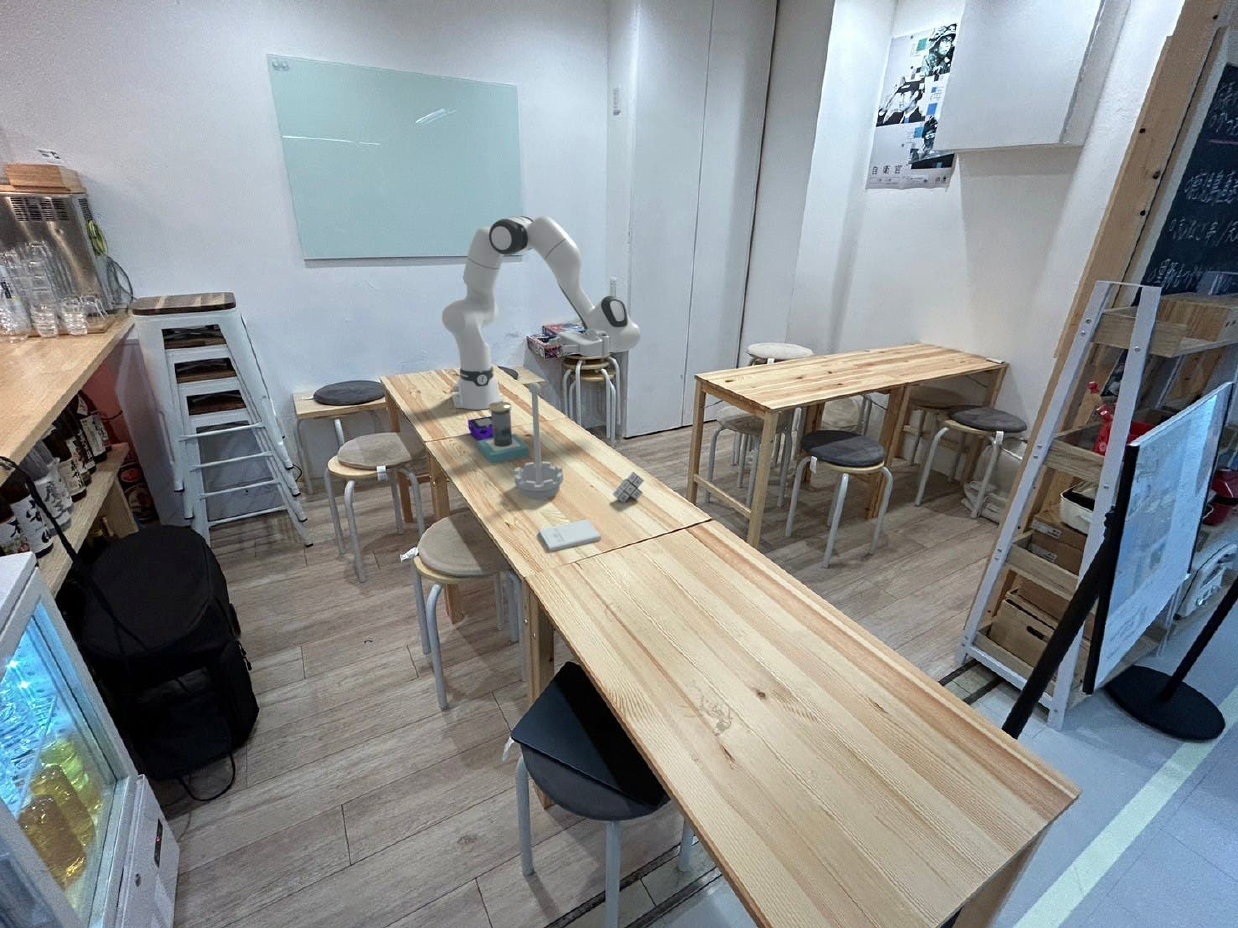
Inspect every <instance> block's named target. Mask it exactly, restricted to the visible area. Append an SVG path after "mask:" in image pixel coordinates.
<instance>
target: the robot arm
mask: <svg viewBox="0 0 1238 928" xmlns="http://www.w3.org/2000/svg"><path fill="white" fill-rule="evenodd" d="M469 246H470V247H469V250H468V253H467V257H466V262H465V267H464V271H463V276H462V280H463V282H464V283H465V285H466V296H465V298H464V299H461V300H456V301H453V302H452V303H450V304H449V305H447V306H446V307H445V308H444V309H443V311H442V313H441V320H442V324H443V325H444V328H445V329H446V330H447V331H448V332H450V333H451V334H452V336H453V338H454V340H455V342H456V344H457V348H458V353H459V354H458V356H459V362H460V368H459V377H460V378H459V379H458V381H457V382H456V385H453V386H452V389H453V393H452V394H451V398H452V402H453V406H454V408H456V409H466V410H474V411H475V410H487V409H489V405H490V404H492V403H495V402H504V397H503V396H501V394H500V390H499V383H498V379H496V378H495V377H494V368H493V365H492V355H491V347H490V344H488V343H487V342H486V341H485V339H484V337H483V334H482V332H481V331H482V330H481V329H482V328H486V327H488V326H490V325H491V324H493V322H494V321H496V320H497V318H498V317H499V313H500V312H499V306H498V304H497V302H496V297H495V296H496V286H497V282H498V278H499V275H500V274H499V273H500V270H501V265H502V261H503V258H504V255H505V256H512V255H520V254H523V253H525V252H528V251H530V250H532V249H533V250H534V251H536V252H537V253H538V254H539V256H540V258H542V260H543V261H544V262H545V263H546V264H547V267H549V269H550V270H551V272H552V274H553V275H554V277H555V279H556V282H557V284H558V287H559V289H560V291H561V292H562V293H563V295H564V296H565V298H566V299H567V301H568V302H569V304H570V305H571V307H572V308H573V310H574V311H575V313H576V314H577V315H578V317H579V319H580V321H581V325H582V326H583V329H584V331H585V332H583V333H582V332H579V331H577V330H576V331H574V330H573V331H560V332H557V333H556V337H554V338H550V339H549V340H548V345H550V346H552V347H553V346H557V345H560V346H561V351H562V352H563V353H577V354H579V355H581V356H583V357H592V358H593V357H602V358H607V357H609V355H610V353H621V352H627V351H630V350H633V349H635V348H636V347H637V346H638V345H639V343H640V341H641V340H640V339H641V330H640V327H639V325H638V324H636V323H635V322H634V321H633V320H632V319H631V317H630V316H629V314H628V312H627V308H626V305H625V303H624V301H622V300H621V298H619V297H616V296H615V295H607V296H605V297H603V298H602V300H601V301H599V302H598V303H597V304H596V306H594V304H593V303H592V302H591V300H590V298H589V297H588V296H587V294H586V292H585V291H584V289H583V288H582V285H581V282H580V280H581V279H580V275H581V274H580V273H581V269H582V259H583V258H582V253H581V251H580V249H579V247H578V246H577V244H576V242H575V241H574V240H573V239H572V237H570V235H569V233H567V231H565V229H563V227H561V225H559V224H558V223H557V222H556V221H555V220H554V219H553V218H552V217H550V216H548V215H541V216H538V217H536V218H535V219H534V220H533V219H532V218H530V217H528V216H523V215H522V216H517V215H516V216H515V215H514V216H509V217H508V218H501V219H498V220H497V221H495V222H494V223H493V224H492V225H491V227H490V226H481V227H480V228H478V229H476V231H475V234H474V236H473V238H472V241H471V243H470V245H469Z"/></svg>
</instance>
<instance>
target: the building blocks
mask: <svg viewBox="0 0 1238 928" xmlns="http://www.w3.org/2000/svg"><path fill="white" fill-rule="evenodd" d="M644 481H645V480H644V479H642V477H640V476H639V475H638V474H637V473H636V472H634V471H632V473H631V474H630V475H628V477H627V478H624V480H623V481H622V483H620V485H619V486H618V487H617V489H616V490H615V491H614V492H613V493H612V495H613V496H614V497H615V498H616V499H617V500H619V501H620V503H622V504H625V502H627V500H628V499H629V497H631V498H632V499H634V500H635V501H637V500H639V498H640V497H641V495H643V491H642V490H640V489H639V487H640V486H641V485H642V484H643V483H644Z"/></svg>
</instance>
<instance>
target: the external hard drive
mask: <svg viewBox="0 0 1238 928" xmlns="http://www.w3.org/2000/svg"><path fill="white" fill-rule="evenodd" d="M538 534H539V536H540V537H541V540H542V541H544V545H545V546H546V547H547V549H548V551H549V552H554V551H558V550H563V549H567V548H570V547H575V546H579V545H583V544H587V543H592V542H598V541H600V540H602V535H601V534H600V532H599V531H598V530H597V528H595V526H594V525H593V524H592V521H590V519H588V518H587V519H583V520H582V519H581V520H579V521H575V522H569V523H567V524H561V525H557V526H552V527H548V528H543V529H539V530H538Z"/></svg>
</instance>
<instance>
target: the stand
mask: <svg viewBox="0 0 1238 928" xmlns="http://www.w3.org/2000/svg"><path fill="white" fill-rule="evenodd" d="M477 445H478V446H477V447H478V451H479V452H480V453H481V454H482V455H483V456H484V458H485V459H486V460H487V461H488V462H489V464H491V465H495V464H499V463H500V464H501V463H506V462H509V461H514V460H518V459H523V458H529V457H530V446H528V445H527V444H526V443H525V442H524V441H523V440H522V439H520V438H519V437H518V435H516V434H515V433H512V444H511V445H509V446H505V447H499V446H495V445H494V441H493V438H490V439H485V440H480V441H477Z"/></svg>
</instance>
